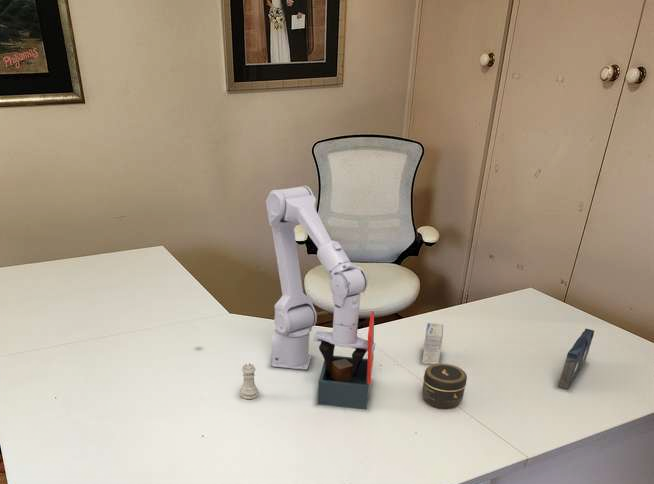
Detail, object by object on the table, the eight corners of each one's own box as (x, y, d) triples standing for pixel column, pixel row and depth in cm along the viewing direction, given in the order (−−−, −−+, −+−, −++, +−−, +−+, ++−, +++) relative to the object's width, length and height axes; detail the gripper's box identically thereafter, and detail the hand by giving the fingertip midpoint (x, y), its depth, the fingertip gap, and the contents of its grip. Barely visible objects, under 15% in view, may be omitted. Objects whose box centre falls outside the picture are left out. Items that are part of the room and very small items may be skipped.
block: (338, 383, 148) (339, 369, 146) (330, 376, 151) (331, 361, 148) (352, 380, 149) (354, 365, 147) (344, 372, 152) (345, 358, 150)
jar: (437, 415, 145) (442, 386, 141) (412, 394, 152) (416, 367, 148) (470, 405, 149) (476, 378, 145) (444, 386, 156) (449, 359, 152)
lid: (367, 335, 136) (370, 335, 136) (371, 311, 147) (374, 311, 147) (367, 384, 142) (370, 384, 142) (370, 357, 154) (373, 357, 154)
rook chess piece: (261, 392, 150) (261, 363, 146) (253, 401, 147) (253, 372, 142) (244, 389, 152) (243, 360, 147) (236, 398, 148) (235, 368, 144)
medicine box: (438, 365, 166) (443, 336, 161) (421, 363, 166) (425, 334, 162) (439, 352, 172) (443, 323, 168) (423, 350, 173) (427, 322, 168)
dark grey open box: (317, 404, 147) (318, 381, 144) (324, 376, 158) (325, 354, 155) (366, 409, 146) (368, 386, 142) (369, 381, 157) (371, 359, 154)
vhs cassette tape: (575, 360, 171) (585, 327, 166) (586, 364, 170) (597, 330, 164) (555, 386, 158) (565, 352, 153) (567, 390, 157) (578, 355, 152)
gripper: (381, 320, 143) (375, 372, 150) (322, 309, 147) (319, 359, 155) (372, 332, 137) (366, 385, 145) (311, 320, 142) (309, 372, 149)
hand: (341, 373), depth 149 cm, fingers closed on block, 6 cm apart
